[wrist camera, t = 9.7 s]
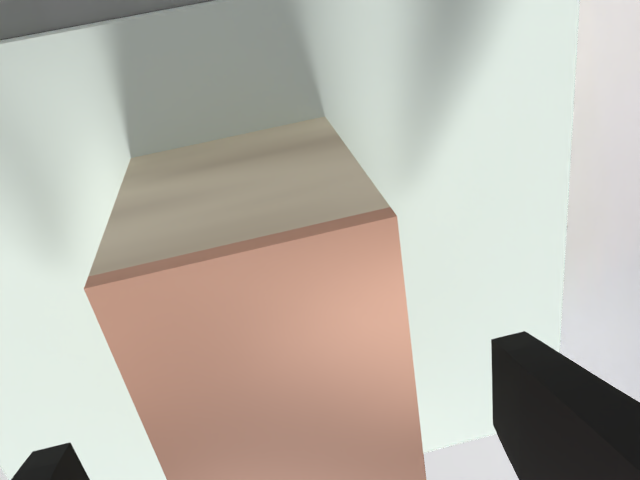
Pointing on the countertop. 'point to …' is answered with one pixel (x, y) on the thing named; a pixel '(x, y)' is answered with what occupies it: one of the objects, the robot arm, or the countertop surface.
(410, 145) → the mat
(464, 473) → the countertop surface
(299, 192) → the maple block
